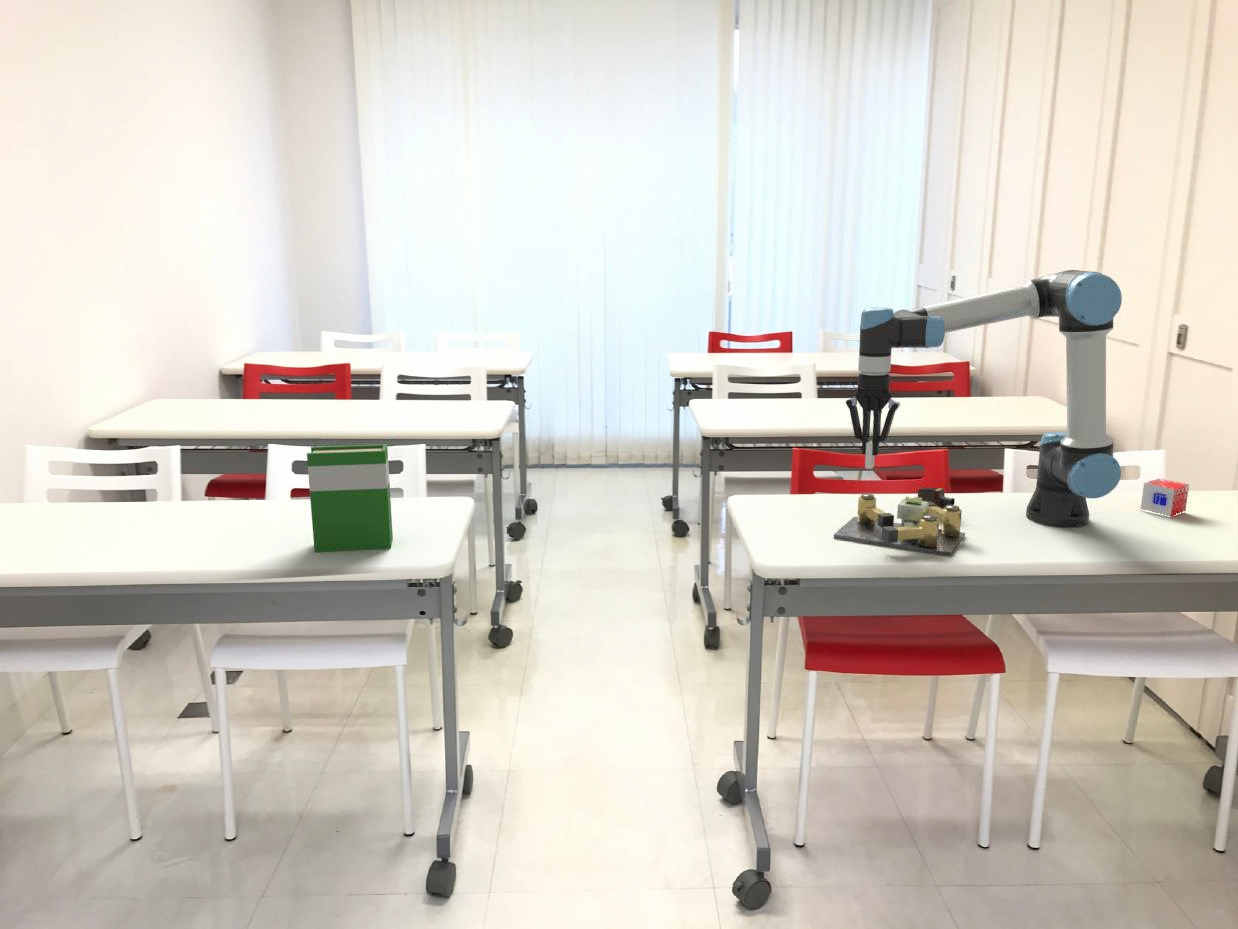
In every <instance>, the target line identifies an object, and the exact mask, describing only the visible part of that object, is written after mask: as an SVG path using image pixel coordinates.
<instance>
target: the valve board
mask: <svg viewBox="0 0 1238 929" xmlns="http://www.w3.org/2000/svg"><path fill="white" fill-rule="evenodd" d="M928 507H929V502H926V501H922V498H919V497H918V496H911V495H906V496H905V498H903V499H902V500H901V501H900V502H899V503H898V504H897V510H896V512H897V513H896V519H899V520H901V522H900V523H899V522H894V525H893V527H894V528H895V527H906V526H917V525H919V524H920V518H922V517H923V515H927V514H928ZM964 538H966V533H965V532H961V531H960V535H958V536H948V535H944V534H942V533H941V528H939V530H938V542H937V546H934V547H927V546H922V545H919V544H918V539H908V540H898V541H897V542H894V543H887V542H886V541H884V540H882V528H881V527H879V526H878V523H876V522H874V523H861V522H858V521H857V516H853V517H852V518H851V519H850V520H849V521H847V522H846V523H845V524H844V525H842V526H841V527H840V528H839V529H838V530H837V531H836V532H835V533H833V539H837V540H844V541H849V542H857V543H861V544H868V545H875V546H882V547H888V548H894V549H900V550H905V551H913V552H918V553H926V554H930V555H937V556H938V555H939V556H944V557H952V555H953V554H954V553H955V552H956V550H957V549H958V547H959V546H960V544H961V543H962V542H963V540H964Z"/></svg>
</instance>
